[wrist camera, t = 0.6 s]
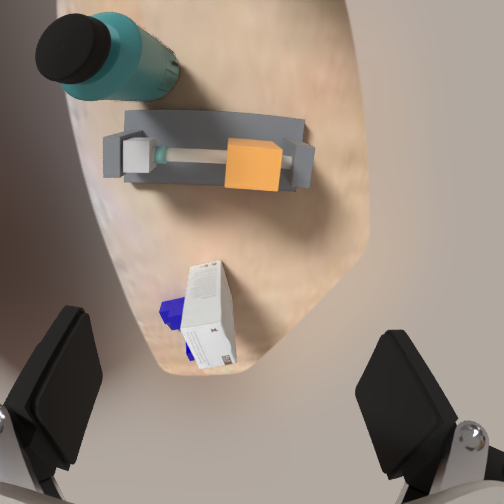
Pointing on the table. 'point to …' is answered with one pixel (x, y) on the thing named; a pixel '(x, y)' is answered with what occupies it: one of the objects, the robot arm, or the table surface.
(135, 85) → the beverage bottle
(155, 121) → the rail
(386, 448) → the robot arm
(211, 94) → the table surface
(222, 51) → the table surface
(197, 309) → the skincare box
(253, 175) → the orange rectangular block
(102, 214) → the table surface
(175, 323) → the cable holder
